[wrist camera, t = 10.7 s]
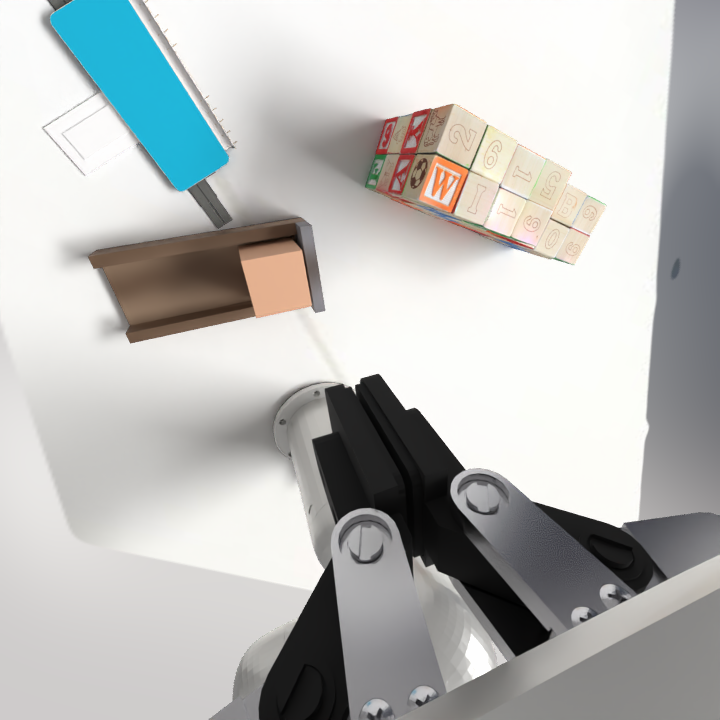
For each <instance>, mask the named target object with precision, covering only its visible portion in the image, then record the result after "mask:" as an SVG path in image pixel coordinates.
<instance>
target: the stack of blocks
mask: <svg viewBox="0 0 720 720" xmlns="http://www.w3.org/2000/svg"><path fill="white" fill-rule="evenodd" d="M571 174H572V172H571V171H569V170H567V169H565V168H563V167H562V166H560V165H558V164H556V163H554V162H553V161H551V160H549V159H545V158H543V157H541V156H540V155H538V154H536V153H534V152H532V151H531V150H529V149H527V148H525V147H524V146H522V145H519V144H518V141H516V140H515V139H513V138H511V137H509V136H508V135H506V134H504V133H502V132H501V131H499V130H497V129H496V128H494V127H492V126H490V125H487V123H486V122H485V121H483V120H482V119H480V118H478V117H477V116H475V115H473V114H472V113H470V112H468V111H467V110H465V109H463V108H462V107H460V106H458V105H456V104H450V105H446V106H442V107H439V108H435V109H431V108H430V109H425V110H421V111H417V112H414V113H413V114H409V115H405V116H401V117H395V118H391V119H387V120H386V122H385V125H384V128H383V131H382V134H381V137H380V141H379V144H378V147H377V150H376V155H375V158H374V161H373V164H372V167H371V170H370V174H369V177H368V180H367V183H366V186H365V187H366V188H367V189H370V190H372V191H375V192H377V193H380V194H382V195H384V196H387V197H389V198H391V199H392V200H394V201H397V202H399V203H401V204H404V205H406V206H409V207H411V208H414V209H416V210H418V211H421V212H423V213H425V214H428V215H430V216H433V217H435V218H439V219H443V220H446V221H448V222H451V223H453V224H456V225H458V226H462V227H464V228H467V229H469V230H472V231H474V232H477V233H479V235H481V236H483V237H486V238H488V239H491V240H493V241H496V242H498V243H502V244H504V245H507V246H509V247H512V248H514V249H518V250H521V251H524V252H528V253H531V254H534V255H537V256H540V257H544V258H547V259H555V260H558V261H561V262H565V263H568V264H571V265H574V264H575V263H576V261H577V259H578V257H579V256H580V254H581V252H582V250H583V249H584V247H585V245H586V243H587V242H588V240H589V238H590V235H591V233H592V231H593V230H594V228H595V226H596V224H597V223H598V221H599V219H600V217H601V215H602V213H603V212H604V210H605V208H606V206H607V205H606V204H604V203H602V202H600V201H598V200H596V199H594V198H592V197H590V196H587V194H586V193H584V192H582V191H581V190H579V189H577V188H575V187H573V186H571V185H569V184H567V181H568V180H569V178H570V176H571Z"/></svg>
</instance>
